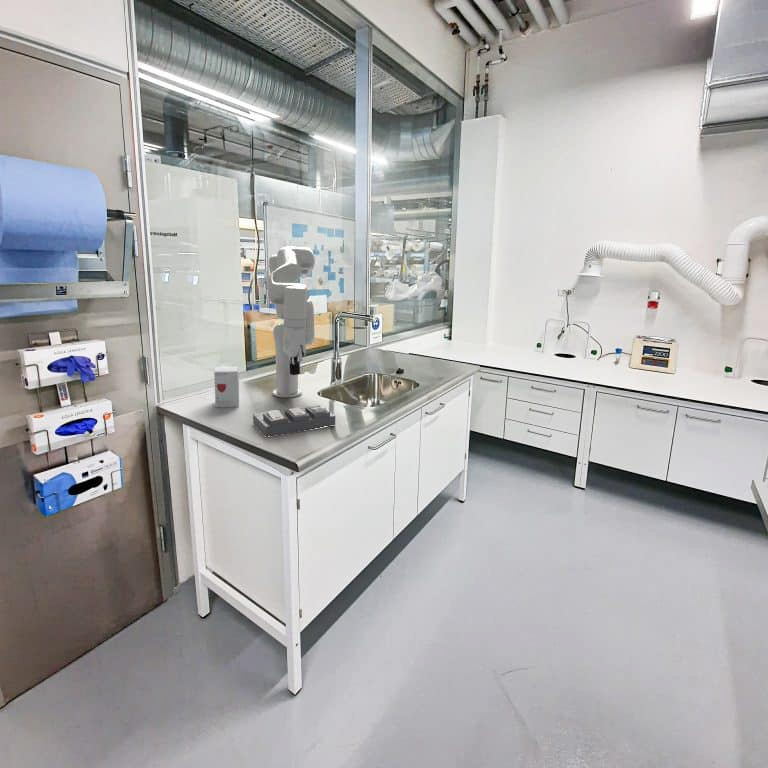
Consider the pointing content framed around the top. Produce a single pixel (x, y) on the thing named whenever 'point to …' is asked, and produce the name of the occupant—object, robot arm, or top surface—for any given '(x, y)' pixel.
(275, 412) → the rocker
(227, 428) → the top surface
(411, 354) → the top surface
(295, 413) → the middle rocker
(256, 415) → the rocker switch panel
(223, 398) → the supplement box
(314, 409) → the rocker
